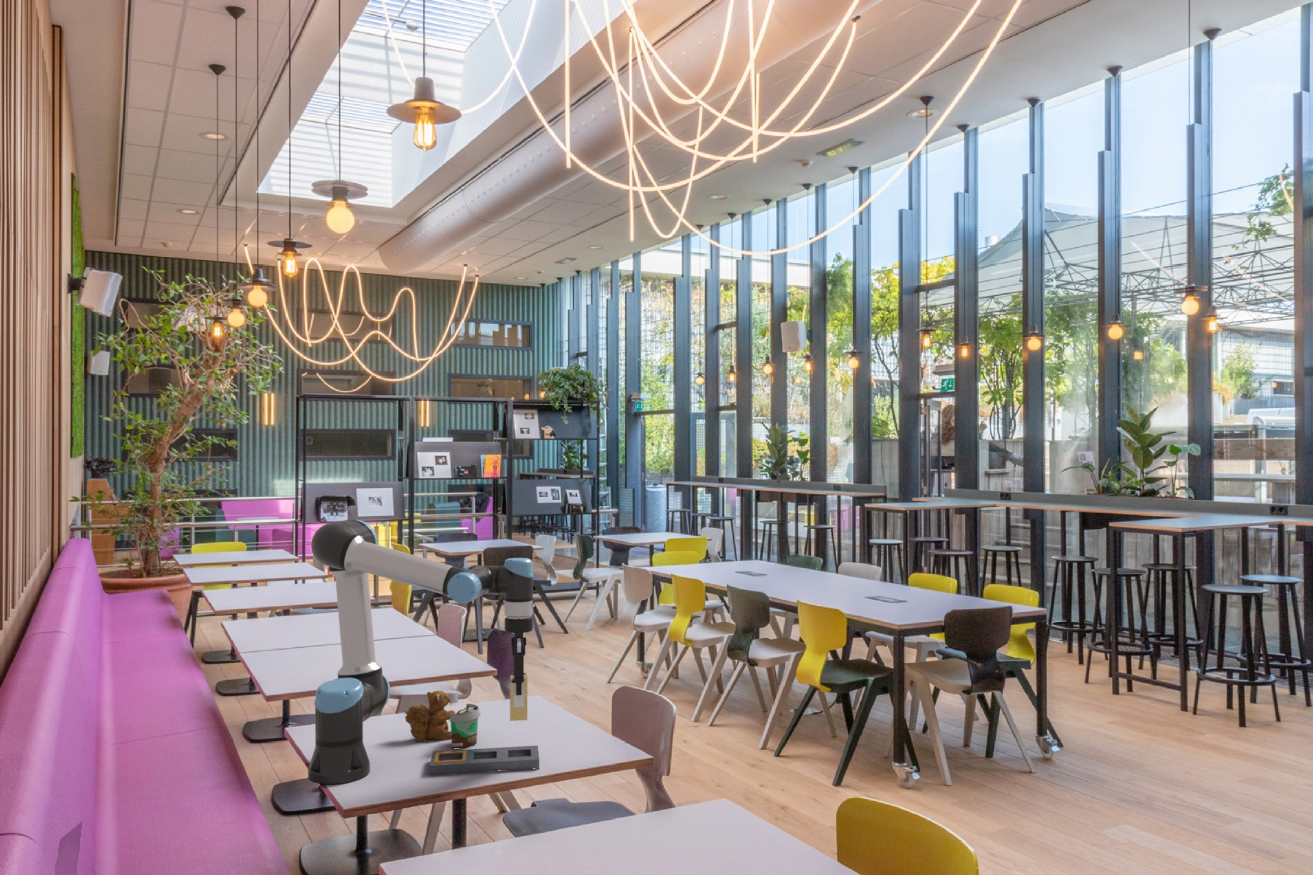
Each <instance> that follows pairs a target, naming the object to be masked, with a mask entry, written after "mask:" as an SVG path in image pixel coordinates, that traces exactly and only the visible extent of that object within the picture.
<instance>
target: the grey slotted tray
mask: <svg viewBox="0 0 1313 875" xmlns="http://www.w3.org/2000/svg"><path fill="white" fill-rule="evenodd" d="M539 754H540V753H539V745H522V746H520V745H519V746H507V747H506V746H504V747H490V748H489V747H487V748H486V747H485V748H472V749H471V748H470V749H469V748H468V749H467V748H465V749H451V750H435V751H434V750H433V751H432V753H431V758H430V762H429V768H428V770H429V771H428V775H430V776H442V775H457V774H458V775H459V774H462V775H463V774H476V772H479V773H490V772H489V771H496V772H499V771H498V770H512V771H523V770H522V769H529V770H534V769H533V768H539V769H540V755H539Z"/></svg>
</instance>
